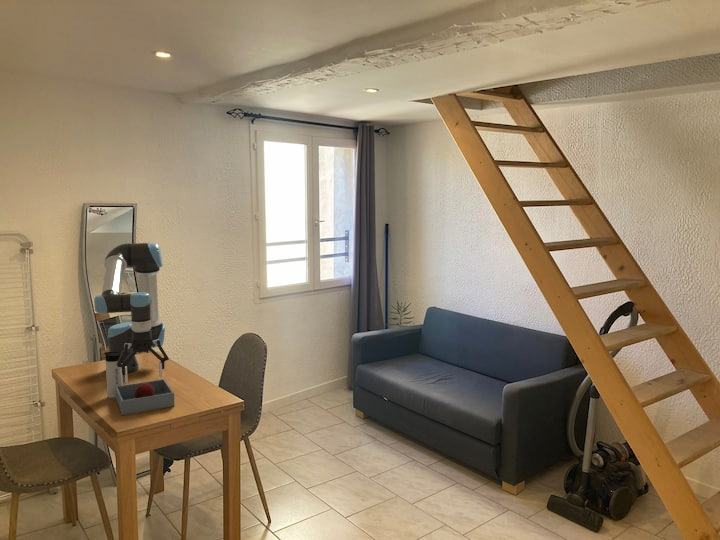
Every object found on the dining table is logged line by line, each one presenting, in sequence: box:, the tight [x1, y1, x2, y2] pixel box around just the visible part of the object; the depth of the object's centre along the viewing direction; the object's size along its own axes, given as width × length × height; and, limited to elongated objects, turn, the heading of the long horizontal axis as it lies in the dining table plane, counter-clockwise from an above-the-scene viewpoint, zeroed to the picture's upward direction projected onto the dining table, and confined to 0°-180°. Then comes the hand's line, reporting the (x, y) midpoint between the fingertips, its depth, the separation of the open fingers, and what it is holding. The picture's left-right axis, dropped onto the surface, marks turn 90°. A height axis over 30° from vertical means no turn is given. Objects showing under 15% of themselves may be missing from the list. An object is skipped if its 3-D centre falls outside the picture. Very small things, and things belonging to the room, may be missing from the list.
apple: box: [135, 383, 154, 398], centre depth 232 cm, size 7×8×8 cm
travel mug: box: [104, 351, 124, 401], centre depth 238 cm, size 6×7×20 cm
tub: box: [115, 378, 175, 417], centre depth 232 cm, size 20×20×6 cm
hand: (143, 379), depth 231 cm, fingers open, 13 cm apart
